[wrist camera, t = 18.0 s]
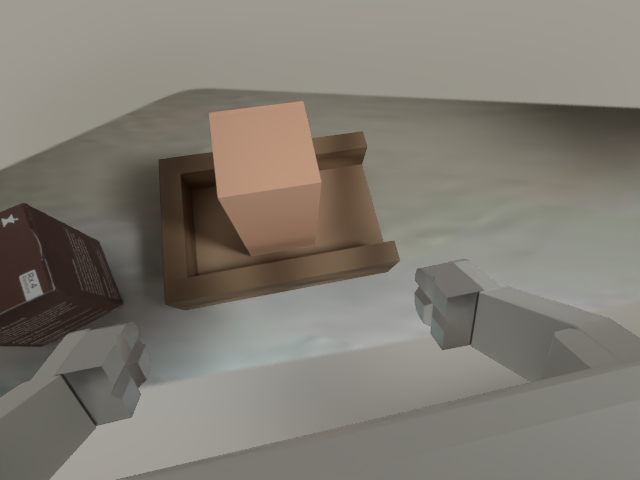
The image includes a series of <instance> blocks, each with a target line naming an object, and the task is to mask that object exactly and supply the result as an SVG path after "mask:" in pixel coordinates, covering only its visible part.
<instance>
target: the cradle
mask: <svg viewBox="0 0 640 480" xmlns="http://www.w3.org/2000/svg"><path fill="white" fill-rule="evenodd" d="M312 142H313V147H314V151H315V156H316V160H317V164H318V169H319V173H320V178H321V182H322V183H321V192H320V201H319V211H318V220H317V230H316V239H315V245H313V246H308V247H302V248H296V249H291V250H285V251H279V252H273V253H268V254H262V255H256V256H251V255H250V253H249V252H248V250H247V248H246V246H245V245H244V243H243V241H242V239H241V238H240V236H239V234H238V232H237V231H236V229H235V227H234V225H233V224H232V222H231V220H230V219H229V217H228V215H227V213H226V212H225V210H224V208H223V206H222V205H221V203H220V201H219V199H218V195H217V186H216V177H215V167H214V158H213V152H210V153H203V154H196V155H189V156H181V157H174V158H167V159H160V160H159V178H160V201H161V223H162V246H163V268H164V291H165V304H166V305H169V306H173V307H176V308H179V309H182V310H188V309H194V308H199V307H204V306H210V305H215V304H220V303H225V302H231V301H236V300H241V299H247V298H252V297H257V296H262V295H268V294H273V293H278V292H284V291H289V290H294V289H299V288H305V287H310V286H315V285H321V284H326V283H331V282H336V281H342V280H347V279H352V278H357V277H363V276H368V275H373V274H379V273H384V272H388V271H389V270H390V269H391V268H392V267H393V266H394V265H396V264H397V263H398V262H399V261H400V259H399V255H398V252H397V248H396V245H395V241H389V242H383V239H382V235H381V232H380V228H379V224H378V221H377V217H376V214H375V210H374V206H373V203H372V199H371V196H370V192H369V188H368V185H367V181H366V177H365V174H364V170H363V167H362V162H363V159H364V156H365V153H366V150H367V144H366V141H365V137H364V134H363V132H355V133H348V134H341V135H334V136H326V137H319V138H312Z"/></svg>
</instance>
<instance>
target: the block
mask: <svg viewBox="0 0 640 480" xmlns="http://www.w3.org/2000/svg"><path fill="white" fill-rule="evenodd" d="M209 120H210V130H211V139H212V148H213V158H214V167H215V177H216V186H217V195H218V199H219V201H220V203H221V205H222V206H223V208H224V210H225V212H226V213H227V215H228V217H229V219H230V220H231V222H232V224H233V225H234V227H235V229H236V231H237V232H238V234H239V236H240V238H241V239H242V241H243V243H244V245H245V246H246V248H247V250H248V252H249V253H250V255H251V256H256V255H262V254H268V253H273V252H279V251H285V250H291V249H296V248H302V247H308V246H313V245H315V239H316V230H317V220H318V211H319V201H320V192H321V183H322V182H321V178H320V173H319V169H318V164H317V160H316V156H315V151H314V147H313V142H312V138H311V133H310V129H309V124H308V120H307V115H306V111H305V107H304V102H303V101H300V102H292V103H283V104H275V105H267V106H259V107H251V108H243V109H235V110H227V111H219V112H211V113H209Z"/></svg>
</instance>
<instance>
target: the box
mask: <svg viewBox="0 0 640 480" xmlns="http://www.w3.org/2000/svg"><path fill="white" fill-rule="evenodd" d="M121 306H123V302H122V300H121V297H120V295H119V292H118V289H117V287H116V284H115V281H114V279H113V276H112V274H111V271H110V269H109V266H108V264H107V261H106V258H105V256H104V253H103V251H102V248H101V246H100V243H99V241H97V240H95V239H93V238H91V237H89V236H87V235H85V234H83V233H81V232H80V231H78V230H76V229H74V228H72V227H70V226H68V225H66V224H64V223H62V222H60V221H58V220H57V219H54V218H53V217H50V216H48V215H47V214H45V213H43V212H41V211H39V210H37V209H34V208H32V207H31V206H29V205H28V204H26V203H23V204H20V205H17V206H15V207H12V208H10V209H7V210H5V211H3V212H0V346H28V347H30V346H35V347H41V346H44V345H47V344H49V343H51V342H53V341H55V340H57V339H59V338H61V337H63V336H65V335H66V334H68V333H70V332H72V331H74V330H76V329H78V328H80V327H82V326H84V325H86V324H88V323H90V322H92V321H94V320H96V319H98V318H100V317H102V316H104V315H106V314H108V313H110V312H112V311H114V310H116V309H118V308H120V307H121Z"/></svg>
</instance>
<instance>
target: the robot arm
mask: <svg viewBox="0 0 640 480" xmlns="http://www.w3.org/2000/svg"><path fill="white" fill-rule="evenodd" d="M415 281H416V283H417V284H418V285H419V287H418V289H417V290H416V292H415V306H416V311H417V313H418V315H419V317H420V319H421V320H422V322H423V323H424V324H426V325H429V326H431V335H432V336H433V338H434V339H435V341H436V342H437V343H438V345H439V346H440V347H441V349H442V350H445V349H451V348H456V347H461V346H466V345H471V346H472V347H473V348H475V349H477V350H478V351H480V352H482V353H483V354H485V355H487V356H488V357H490V358H492V359H493V360H495V361H497V362H498V363H500V364H502V365H503V366H505V367H507V368H508V369H510V370H512V371H513V372H515V373H517V374H519V375H520V376H522V377H523V378H525V379H527V380H528V381H530V383H526V384H522V385H517V386H513V387H509V388H505V389H500V390H496V391H492V392H487V393H483V394H479V395H475V396H471V397H467V398H462V399H458V400H454V401H449V402H445V403H441V404H436V405H432V406H428V407H424V408H420V409H415V410H411V411H407V412H402V413H399V414H394V415H389V416H386V417H381V418H377V419H372V420H368V421H364V422H360V423H355V424H351V425H347V426H343V427H338V428H335V429H330V430H326V431H322V432H317V433H313V434H309V435H304V436H300V437H296V438H292V439H288V440H283V441H279V442H275V443H271V444H266V445H262V446H258V447H253V448H249V449H245V450H241V451H236V452H232V453H228V454H223V455H219V456H215V457H211V458H207V459H202V460H198V461H194V462H189V463H185V464H181V465H177V466H173V467H169V468H164V469H160V470H156V471H152V472H147V473H143V474H138V475H134V476H130V477H126V478H121V479H117V480H640V338H639V337H637V336H636V335H634V334H633V333H631V332H630V331H628V330H627V329H625V328H624V327H622V326H621V325H619V324H618V323H616V322H615V321H613V320H612V319H610V318H607V317H603V316H601V315H597V314H594V313H591V312H588V311H585V310H581V309H578V308H575V307H572V306H569V305H565V304H562V303H559V302H556V301H552V300H549V299H546V298H543V297H540V296H536V295H533V294H530V293H527V292H524V291H520V290H517V289H514V288H511V287H508V286H507V287H501V286H500V285H499V284H497V283H496V282H495V281H494V280H493V279H491V278H490V277H489V276H488V275H487V274H485V273H484V272H483V271H482V270H480V269H479V268H478V267H477V266H476V265H474V264H473V263H472V262H471V261H469V260H467V259H461V260H456V261H452V262H449V263H444V264H439V265H434V266H429V267H424V268H419V269H417V271H416V273H415ZM139 334H140V332H139V330H138V328H137V326H136V325H135V324H134V323H132V322H126V323H120V324H114V325H108V326H102V327H95V328H92V329H84V330H79V331H73V332H71V333H69V334H67V335H66V336H65V337H64V338H63V340H62V341H61V342H60V343H59V345H58V346H57V347H56V348H55V350H54V351H53V352H52V354H51V355H50V356H49V357H48V359H47V360H46V361H45V362H44V364H43V365H42V366H41V367H40V369H39V370H38V371H37V372H36V374H35V375H34V376H33V378H32V379H31V380H30V381H28V382H23V383H21V384H20V385H18V386H17V387H15V388H14V389H12V390H11V391H9V392H8V393H6V394H5V395H3V396H2V397H0V480H49V479H50V478H51V477H52V476H53V475H54V474H55V472H56V471H57V470H58V469H59V468H60V467H61V466H62V465H63V464H64V462H66V460H67V459H68V458H69V457H70V456H71V455H72V454H73V453H74V452H75V451H76V449H77V448H78V447H79V446H80V445H81V444H82V443H83V442H84V441H85V440H86V438H87V437H88V436H89V435H90V434H91V433H92V432H93V431H94V430H95V428H96V426H98V425H101V424H105V423H110V422H114V421H118V420H122V419H127V418H131V417H132V415H133V413H134V410H135V408H136V405H137V403H138V400H139V398H140V395H141V394H140V391H139V390H138V387H139V386H140V385H141V384H143V383H144V382H145V381H146V380H147V377H148V374H149V371H150V355H149V351H148V349H147V347H146V345H145V344H143V343H141V342H140V341H138V340H137V339H138V336H139Z"/></svg>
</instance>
